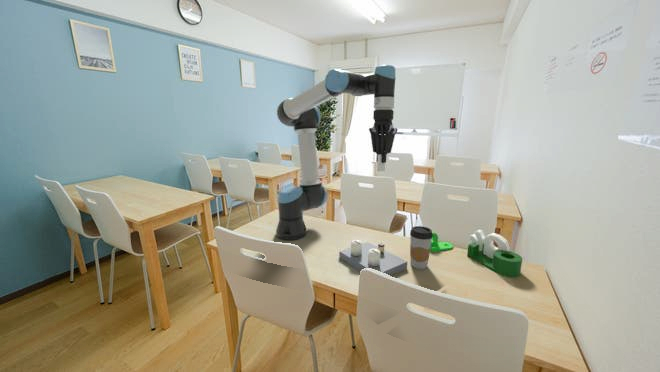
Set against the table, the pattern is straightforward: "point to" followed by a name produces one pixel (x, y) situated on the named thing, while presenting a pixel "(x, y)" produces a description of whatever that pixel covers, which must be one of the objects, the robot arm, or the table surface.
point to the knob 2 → (374, 257)
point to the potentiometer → (381, 248)
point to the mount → (387, 265)
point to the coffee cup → (420, 246)
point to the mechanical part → (439, 244)
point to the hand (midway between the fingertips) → (380, 170)
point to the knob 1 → (356, 247)
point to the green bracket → (497, 261)
